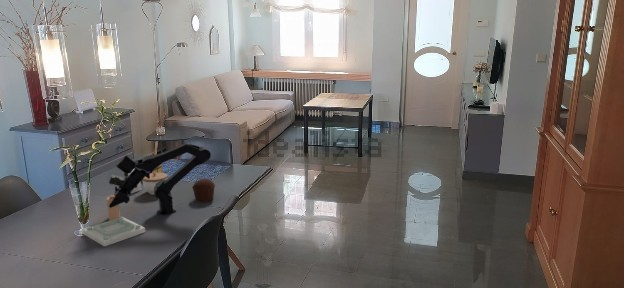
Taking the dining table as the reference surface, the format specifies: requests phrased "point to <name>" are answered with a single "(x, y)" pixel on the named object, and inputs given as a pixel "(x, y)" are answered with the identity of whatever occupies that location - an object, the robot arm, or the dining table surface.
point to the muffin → (204, 190)
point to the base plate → (113, 231)
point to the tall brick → (112, 209)
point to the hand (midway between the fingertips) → (109, 205)
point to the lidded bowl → (153, 181)
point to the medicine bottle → (137, 185)
